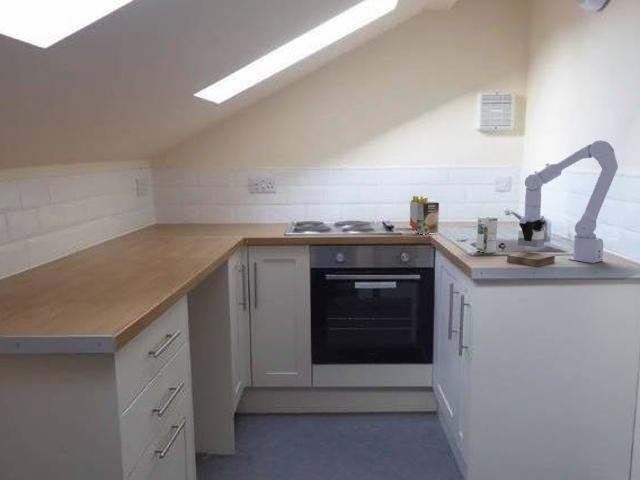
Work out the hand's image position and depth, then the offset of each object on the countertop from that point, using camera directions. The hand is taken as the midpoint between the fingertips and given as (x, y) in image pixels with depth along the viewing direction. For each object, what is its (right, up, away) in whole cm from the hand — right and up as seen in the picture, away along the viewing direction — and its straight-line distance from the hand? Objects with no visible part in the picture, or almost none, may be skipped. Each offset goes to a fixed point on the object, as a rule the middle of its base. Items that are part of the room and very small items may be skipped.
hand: (531, 240), depth 209 cm
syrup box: (-15, -5, +10) cm, 18 cm away
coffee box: (-29, +3, +61) cm, 67 cm away
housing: (0, -2, 0) cm, 2 cm away
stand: (-5, -8, -12) cm, 15 cm away
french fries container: (-29, +5, +77) cm, 83 cm away
